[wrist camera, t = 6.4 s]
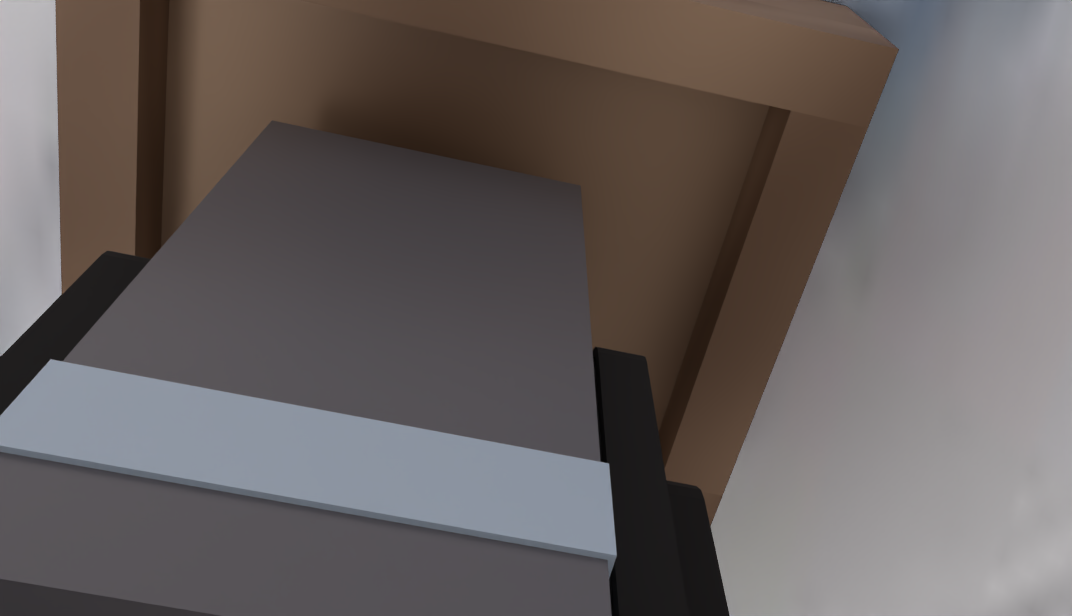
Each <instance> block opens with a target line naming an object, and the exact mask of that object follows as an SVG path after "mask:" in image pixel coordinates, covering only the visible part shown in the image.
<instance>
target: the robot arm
mask: <svg viewBox="0 0 1072 616" xmlns="http://www.w3.org/2000/svg"><path fill="white" fill-rule="evenodd" d="M150 260H151V259H149V258H144V257H139V256H134V255H129V254H124V253H118V252H113V251H106V252H104V253H103V254H101V256H100V257H99V258H98V259H97V260H96V261H95V262H94V263H93V264H92V265H91V266H90V267H89V268H88V269H87V270H86V271H85V272H84V273H83V274H82V275H81V276H80V277H79V278H78V279H77V280H76V281H75V282H74V283H73V284H72V285H71V286H70V287H69V288H68V289H67V290H66V291H65V292H64V293H63V294H62V295H61V296H60V297H59V298H58V299H57V300H56V301H55V302H54V303H53V304H52V305H51V306H50V307H49V308H48V309H47V310H46V311H45V312H44V313H43V314H42V315H41V316H40V317H39V318H38V319H37V321H36V322H35V323H34V324H33V325H32V326H31V327H30V328H29V329H28V330H27V331H26V332H25V333H24V334H23V335H22V336H21V337H20V338H19V339H18V340H17V341H16V342H15V343H14V344H13V345H12V346H11V347H10V348H9V349H8V350H7V351H6V352H5V353H4V354H3V355H2V356H0V415H1V414H2V413H3V412H4V411H5V410H6V409H7V408H8V407H9V405H10V404H11V403H12V402H13V401H14V400H15V399H16V398H17V396H18V395H19V394H20V393H21V392H22V391H23V390H24V389H25V387H26V386H27V385H28V384H29V383H30V382H31V381H32V380H33V379H34V377H35V376H36V375H37V374H38V373H39V372H40V371H41V370H42V368H43V367H44V366H45V365H46V364H47V363H48V362H49V361H50V360H51V359H52V360H57V361H63V360H64V359H65V358H66V357H67V355H68V354H69V353H70V352H71V351H72V350H73V349H74V347H75V346H76V345H77V344H78V343H79V342H80V341H81V339H82V338H83V337H84V336H85V335H86V334H87V332H88V331H89V330H90V329H91V328H92V327H93V326H94V324H95V323H96V322H97V321H98V320H99V319H100V318H101V316H102V315H103V314H104V313H105V312H106V311H107V309H108V308H109V307H110V306H111V305H112V304H113V303H114V301H115V300H116V299H117V298H118V297H119V296H120V294H121V293H122V292H123V291H124V290H125V289H126V288H127V286H128V285H129V284H130V283H131V282H132V281H133V280H134V278H135V277H136V276H137V275H138V274H139V273H140V271H141V270H142V269H143V268H144V267H145V266H146V265H147V263H148V262H149V261H150ZM593 364H594V378H595V392H596V406H597V420H598V433H599V447H600V461H601V462H604V463H609V469H610V481H611V492H612V504H613V516H614V528H615V540H616V551H617V557H616V560H615V563H614V566H613V569H612V572H611V575H610V578H609V586H610V600H611V614H612V616H729V611H728V607H727V602H726V597H725V593H724V588H723V583H722V579H721V574H720V569H719V565H718V560H717V555H716V551H715V546H714V541H713V537H712V532H711V527H710V523H709V518H708V513H707V509H706V504H705V499H704V497H703V494H702V491H701V489H699V488H698V487H697V486H694V485H689V484H683V483H678V482H673V481H667V480H666V475H665V469H664V463H663V457H662V451H661V445H660V438H659V432H658V426H657V420H656V414H655V408H654V402H653V396H652V390H651V384H650V378H649V372H648V365H647V360H646V357H645V356H641V355H636V354H631V353H626V352H621V351H616V350H611V349H606V348H601V347H596V346H595V348H594V349H593Z"/></svg>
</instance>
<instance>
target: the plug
mask: <svg viewBox="0 0 1072 616" xmlns="http://www.w3.org/2000/svg"><path fill="white" fill-rule="evenodd" d="M616 557H617V551H616V540H615V528H614V516H613V504H612V492H611V481H610V469H609V463H604V462H601V461H600V447H599V433H598V420H597V406H596V392H595V378H594V364H593V350H592V336H591V322H590V308H589V295H588V281H587V267H586V253H585V239H584V225H583V211H582V197H581V185H576V184H571V183H566V182H562V181H557V180H552V179H547V178H543V177H538V176H533V175H528V174H524V173H519V172H514V171H509V170H505V169H500V168H495V167H491V166H486V165H481V164H476V163H472V162H467V161H462V160H457V159H453V158H448V157H443V156H438V155H434V154H429V153H424V152H419V151H415V150H410V149H405V148H401V147H396V146H391V145H386V144H382V143H377V142H372V141H367V140H363V139H358V138H353V137H348V136H344V135H339V134H334V133H329V132H325V131H320V130H315V129H311V128H306V127H301V126H296V125H292V124H287V123H282V122H277V121H273V120H272V121H271V122H270V123H269V124H268V125H267V127H266V128H265V129H264V130H263V131H262V132H261V133H260V135H259V136H258V137H257V138H256V139H255V140H254V141H253V143H252V144H251V145H250V146H249V147H248V148H247V150H246V151H245V152H244V153H243V154H242V155H241V156H240V158H239V159H238V160H237V161H236V162H235V163H234V164H233V166H232V167H231V168H230V169H229V170H228V171H227V173H226V174H225V175H224V176H223V177H222V178H221V179H220V181H219V182H218V183H217V184H216V185H215V186H214V187H213V189H212V190H211V191H210V192H209V193H208V194H207V196H206V197H205V198H204V199H203V200H202V201H201V202H200V204H199V205H198V206H197V207H196V208H195V209H194V210H193V212H192V213H191V214H190V215H189V216H188V217H187V219H186V220H185V221H184V222H183V223H182V224H181V225H180V227H179V228H178V229H177V230H176V231H175V232H174V234H173V235H172V236H171V237H170V238H169V239H168V240H167V242H166V243H165V244H164V245H163V246H162V247H161V248H160V250H159V251H158V252H157V253H156V254H155V255H154V257H153V258H152V259H151V260H150V261H149V262H148V263H147V265H146V266H145V267H144V268H143V269H142V270H141V271H140V273H139V274H138V275H137V276H136V277H135V278H134V280H133V281H132V282H131V283H130V284H129V285H128V286H127V288H126V289H125V290H124V291H123V292H122V293H121V294H120V296H119V297H118V298H117V299H116V300H115V301H114V303H113V304H112V305H111V306H110V307H109V308H108V309H107V311H106V312H105V313H104V314H103V315H102V316H101V318H100V319H99V320H98V321H97V322H96V323H95V324H94V326H93V327H92V328H91V329H90V330H89V331H88V332H87V334H86V335H85V336H84V337H83V338H82V339H81V341H80V342H79V343H78V344H77V345H76V346H75V347H74V349H73V350H72V351H71V352H70V353H69V354H68V355H67V357H66V358H65V359H64V360H63V361H57V360H52V359H51V360H50V361H49V362H48V363H47V364H46V365H45V366H44V367H43V368H42V370H41V371H40V372H39V373H38V374H37V375H36V376H35V377H34V379H33V380H32V381H31V382H30V383H29V384H28V385H27V386H26V387H25V389H24V390H23V391H22V392H21V393H20V394H19V395H18V396H17V398H16V399H15V400H14V401H13V402H12V403H11V404H10V405H9V407H8V408H7V409H6V410H5V411H4V412H3V413H2V414H1V415H0V616H612V614H611V600H610V586H609V578H610V575H611V572H612V569H613V566H614V563H615V560H616Z"/></svg>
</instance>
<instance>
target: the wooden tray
mask: <svg viewBox="0 0 1072 616" xmlns="http://www.w3.org/2000/svg"><path fill="white" fill-rule="evenodd" d="M56 46H57V93H58V140H59V187H60V234H61V281H62V294H63V293H64V292H65V291H66V290H67V289H68V288H69V287H70V286H71V285H72V284H73V283H74V282H75V281H76V280H77V279H78V278H79V277H80V276H81V275H82V274H83V273H84V272H85V271H86V270H87V269H88V268H89V267H90V266H91V265H92V264H93V263H94V262H95V261H96V260H97V259H98V258H99V257H100V256H101V254H103V253H104V252H106V251H113V252H118V253H124V254H129V255H134V256H139V257H144V258H149V259H152V258H153V257H154V255H155V254H156V253H157V252H158V251H159V250H160V248H161V247H162V246H163V245H164V244H165V243H166V242H167V240H168V239H169V238H170V237H171V236H172V235H173V234H174V232H175V231H176V230H177V229H178V228H179V227H180V225H181V224H182V223H183V222H184V221H185V220H186V219H187V217H188V216H189V215H190V214H191V213H192V212H193V210H194V209H195V208H196V207H197V206H198V205H199V204H200V202H201V201H202V200H203V199H204V198H205V197H206V196H207V194H208V193H209V192H210V191H211V190H212V189H213V187H214V186H215V185H216V184H217V183H218V182H219V181H220V179H221V178H222V177H223V176H224V175H225V174H226V173H227V171H228V170H229V169H230V168H231V167H232V166H233V164H234V163H235V162H236V161H237V160H238V159H239V158H240V156H241V155H242V154H243V153H244V152H245V151H246V150H247V148H248V147H249V146H250V145H251V144H252V143H253V141H254V140H255V139H256V138H257V137H258V136H259V135H260V133H261V132H262V131H263V130H264V129H265V128H266V127H267V125H268V124H269V123H270V122H271V121H272V120H273V121H277V122H282V123H287V124H292V125H296V126H301V127H306V128H311V129H315V130H320V131H325V132H329V133H334V134H339V135H344V136H348V137H353V138H358V139H363V140H367V141H372V142H377V143H382V144H386V145H391V146H396V147H401V148H405V149H410V150H415V151H419V152H424V153H429V154H434V155H438V156H443V157H448V158H453V159H457V160H462V161H467V162H472V163H476V164H481V165H486V166H491V167H495V168H500V169H505V170H509V171H514V172H519V173H524V174H528V175H533V176H538V177H543V178H547V179H552V180H557V181H562V182H566V183H571V184H576V185H581V197H582V211H583V225H584V239H585V253H586V267H587V281H588V295H589V308H590V322H591V336H592V350H593V349H594V348H595V346H596V347H601V348H606V349H611V350H616V351H621V352H626V353H631V354H636V355H641V356H645V357H646V360H647V365H648V372H649V378H650V384H651V390H652V396H653V402H654V408H655V414H656V420H657V426H658V432H659V438H660V445H661V451H662V457H663V463H664V469H665V475H666V480H667V481H673V482H678V483H683V484H689V485H694V486H697V487H698V488H699V489H701V491H702V494H703V497H704V499H705V504H706V509H707V513H708V518H709V523H710V526H711V523H712V521H713V518H714V516H715V513H716V511H717V508H718V506H719V503H720V500H721V498H722V495H723V493H724V490H725V488H726V485H727V483H728V480H729V478H730V475H731V473H732V470H733V468H734V465H735V463H736V460H737V457H738V455H739V452H740V450H741V447H742V445H743V442H744V440H745V437H746V435H747V432H748V430H749V427H750V425H751V422H752V420H753V417H754V415H755V412H756V409H757V407H758V404H759V402H760V399H761V397H762V394H763V392H764V389H765V387H766V384H767V382H768V379H769V377H770V374H771V372H772V369H773V366H774V364H775V361H776V359H777V356H778V354H779V351H780V349H781V346H782V344H783V341H784V339H785V336H786V334H787V331H788V329H789V326H790V323H791V321H792V318H793V316H794V313H795V311H796V308H797V306H798V303H799V301H800V298H801V296H802V293H803V291H804V288H805V286H806V283H807V280H808V278H809V275H810V273H811V270H812V268H813V265H814V263H815V260H816V258H817V255H818V253H819V250H820V248H821V245H822V243H823V240H824V237H825V235H826V232H827V230H828V227H829V225H830V222H831V220H832V217H833V215H834V212H835V210H836V207H837V205H838V202H839V200H840V197H841V194H842V192H843V189H844V187H845V184H846V182H847V179H848V177H849V174H850V172H851V169H852V167H853V164H854V162H855V159H856V157H857V154H858V151H859V149H860V146H861V144H862V141H863V139H864V136H865V134H866V131H867V129H868V126H869V124H870V121H871V119H872V116H873V114H874V111H875V108H876V106H877V103H878V101H879V98H880V96H881V93H882V91H883V88H884V86H885V83H886V81H887V78H888V76H889V73H890V71H891V68H892V65H893V63H894V60H895V58H896V55H897V53H898V50H899V49H898V48H897V47H895V46H894V45H893V44H892V43H891V42H889V41H888V40H887V39H886V38H885V37H883V36H882V35H881V34H880V33H879V32H877V31H876V30H875V29H874V28H872V27H871V26H870V25H869V24H868V23H866V22H865V21H864V20H863V19H862V18H860V17H859V16H858V15H857V14H855V13H854V12H853V11H852V10H851V9H849V8H848V7H847V6H843V5H839V4H835V3H831V2H826V1H822V0H56Z"/></svg>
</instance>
